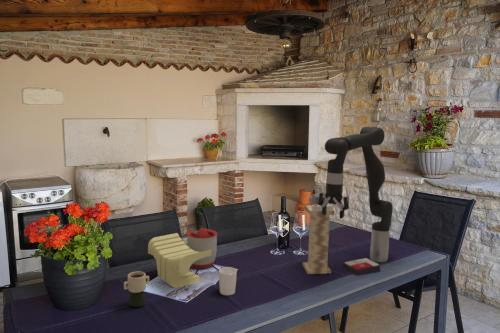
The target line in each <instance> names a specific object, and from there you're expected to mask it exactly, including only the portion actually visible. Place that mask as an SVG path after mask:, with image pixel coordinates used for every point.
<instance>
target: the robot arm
mask: <svg viewBox="0 0 500 333" xmlns="http://www.w3.org/2000/svg"><path fill="white" fill-rule="evenodd" d="M384 140H385V130H383V129H382V128H381V127H377V126H376V127H375V126H364V127H362V128H361V129H360V132H359V133H355V134H349V135H345V136H340V137H332V138H329V139H327V140H326V141H325V143H324V149H325V152H326V153H327V154H329V155H330V154H331V155H336V157H335V158H332V159H329V160H328V162H327V171H326V172H327V173H326V179H325V181H326V182H325V192H320V193H319V203H318V205H320V206H322V214H323V215H326V211H327V207H326V206H327V205H336V206H337V208H339V219H343V218H344V217H345V211H347V210H349V209H350V207H349V206H350V204H349V203H350V200H349V196H348V195H346V196H344V195H343V189H344V188H343V187H344V185H343V184H344V163H345V160H346V156H347V155H348V152H349V151H353V150H356V149H360V148H361V149H362V154H363V159H364V165H365V166H364V167H365V173H366V180H367V186H368V187H367V188H368V195H369V198H368V200H369V201H368V202H369V204H368V205H369V211H370V213H371V215H372V216H375V217H379V218H381V219H380V221H375V222H372V224H371V237H370V249H369V250H370V251H369V260H371V261H373V262H375V263H386V262H387V261H388V259H389V248H390V247H389V246H390V230H391V229H390V228H391V225H392V218H393V210H394V208H393V204H392V201H388V200H383V199H380V197H379V194H380V193H379V192H380V189H381V188H382V186H383V184H384V183H385V181H386V173H385V166H384V164H383V162H382V161H381V160H380V158H379V157H378V156H377V154H376V153H375V151H374V149H373V146H380V145H382V144H383V142H384ZM324 197H326V201H325V202H324V203H323V200H324Z"/></svg>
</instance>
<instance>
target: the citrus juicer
mask: <svg viewBox="0 0 500 333" xmlns="http://www.w3.org/2000/svg"><path fill="white" fill-rule="evenodd" d="M186 236H187V237H186V238H187V239H186V242H187V243H186V245H187V246H188V247H189V248H190V249H192V250H194V251H195V252H196V251H197V252H202V251H207V250H211V256H207V257H204V258H201V259H199V260H197V261H195V262H194V263H193V264H192V265H191V266H190V267H192V266H193V267H192V268H195V269H198V268H200V269H208V268H210V267H212V266H214V263H215V262H216V261H215V260H216V256H217V248H218V245H217V242H218V241H217V240H218V232H217V230H214V229H211V228H210V229H209V228H204V227H203V226H202V227H200V228H199V229H198V230H197V231H196V233H195V232H194V231H193V230H191V229H190V230H188V231H187V232H186Z"/></svg>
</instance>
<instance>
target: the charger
mask: <svg viewBox="0 0 500 333" xmlns="http://www.w3.org/2000/svg"><path fill="white" fill-rule="evenodd" d="M319 194H320V193H319ZM319 194H318V193H315V194H314V193H313V194H311V196H308V203H309V204H311V205H313V204H317V205H318V203H319ZM325 201H326V197H324V200H323V203H324V202H325Z"/></svg>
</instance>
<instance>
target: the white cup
mask: <svg viewBox="0 0 500 333" xmlns="http://www.w3.org/2000/svg"><path fill="white" fill-rule="evenodd" d="M237 272H238V270H237V268H234V267H231V266H225V267H221V268H219V269H218V283H219V284H218V285H219V293H220V295H223V296H233V295H234V294H235V293H236V286H237V285H236V284H237V276H238V275H237Z"/></svg>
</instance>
